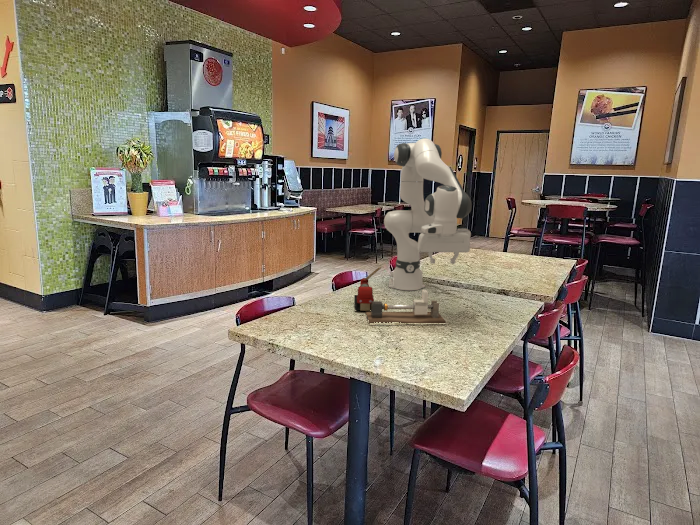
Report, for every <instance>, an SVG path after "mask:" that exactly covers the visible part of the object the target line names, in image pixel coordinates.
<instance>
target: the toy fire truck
mask: <svg viewBox="0 0 700 525" xmlns="http://www.w3.org/2000/svg"><path fill="white" fill-rule="evenodd" d="M381 269H382V266H378V267H377V268H375V269H374V270H373V272H371V273H370V274H369V275H368V276H366V277H362V279H360V285H359V287H358V289H357V294H355V295H354V296H353V300H354V302H353V303H355V304H354V311H355V310H360V311H359V312H361V311H365V312H371V311H370V310H371V301H375V298H374V295H373V294H374V293H373V292H374V290H373V286H370V285H369V284H370V283H369V279H370V278H371V277H373V276H374V275H375V274H376V273H377V272H378V271H380V270H381Z"/></svg>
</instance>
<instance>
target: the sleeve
mask: <svg viewBox="0 0 700 525" xmlns="http://www.w3.org/2000/svg"><path fill="white" fill-rule="evenodd" d="M412 305H415V309H412V312H414V314H415V315H427V312H429V311H428V310H429V309H428V305H429V292H428V290H427V289H421V298H420V299H419V298H418V299H416V298H415V299H413V301H412Z"/></svg>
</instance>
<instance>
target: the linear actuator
mask: <svg viewBox="0 0 700 525" xmlns="http://www.w3.org/2000/svg"><path fill="white" fill-rule="evenodd" d="M430 305H433V309H430V311H427V315H415V314H414V312H413V311H382V318H372V317H371V311H365V316H366V315H367V317H368V320H369V323H374V322H375V323H376V322H378V323H379V322H381V323H383V322H385V323H387V322H388V323H389V322H391V323H392V322H399V323H400V322H401V323H446V324H447V321H446V320H445V318H444V317H443V316H442V315H441V314H440V313H439V312H440V303H439V302H438V301H437V300H431V303H430ZM367 317H366V318H367ZM368 320H367V321H368ZM369 323H368V324H369Z"/></svg>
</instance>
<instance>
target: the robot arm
mask: <svg viewBox="0 0 700 525" xmlns="http://www.w3.org/2000/svg"><path fill="white" fill-rule="evenodd" d="M442 154H443V153H442V147H441V146H440V145H439V144H436V143H434V142H433V141H432V140H431V139H430V138H421V139H419V140H417V141H416V142H409V143H406V142H402V143H398V144H397V145H396V147H395V149H394V152H393V158H394V162H395V164H396V165H398V166H400V167H401V173H400V182H399V183H400V184H399V185H400V186H399V197H400V199H401V200H402V201H403V202H405V203H406V204H408V205H410V207H411V208H410V209H408V210H404V209H397V210H392V211H388V212H387V213H386V214H385V215H384V217H383V218H384V219H383V224H384V227H385V229H386V231H388V232H389V233H390V234H392V236H393V237H394V240H395V242H396V248H397V249H396V250H397V252H396V253H397V256H396V261H395V268H394V269H393V271H391V272H390V273H389V275H390V277H391V278H389V279H388V286H387V287H388V288H391V289H397V290H401V291H417V290H420V289H421V290H422V288H423V289H424V288H426V285H425V284H424V283H423V270H422V269H420V268H421V260H420V253H427V255H428V257H429V260H430V262H429V263H430V264H436V259H435V258H433V254H434V253H453V256H452V258H450V261H449V262H450V264H456V260H457V259H458V257H459V254H460V253H469V252H470V251H471V242H470V240H471V236H472V233H471V231H470V229H468V228H459V227H457V226H458V219H462V220H463V219H464V218H465V217H467V216H468V215H469V214H470V213H471V211H472V207H473V206H472V200H471V198H470V197H469V195H468V194H467V193H466V192H465V190H464V188H463V186H462V184H461V182H460V180H459V179H458V177H457V175H456V173H455V172H454V170H453V169H452V168H451V167H450V166H448V165H447V164H446V163H445V162H444V161H443V160H442ZM424 180H427V181H431V182H436V183H440V184H441V185H439V186H437V187H436V191H435V192H433V193H430V194H429V195H427V196H426V198H425V199H424ZM410 233H416V234H417V233H420V234H419V236H418V240H417V241H416V240H415V239H412V238H410Z"/></svg>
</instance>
